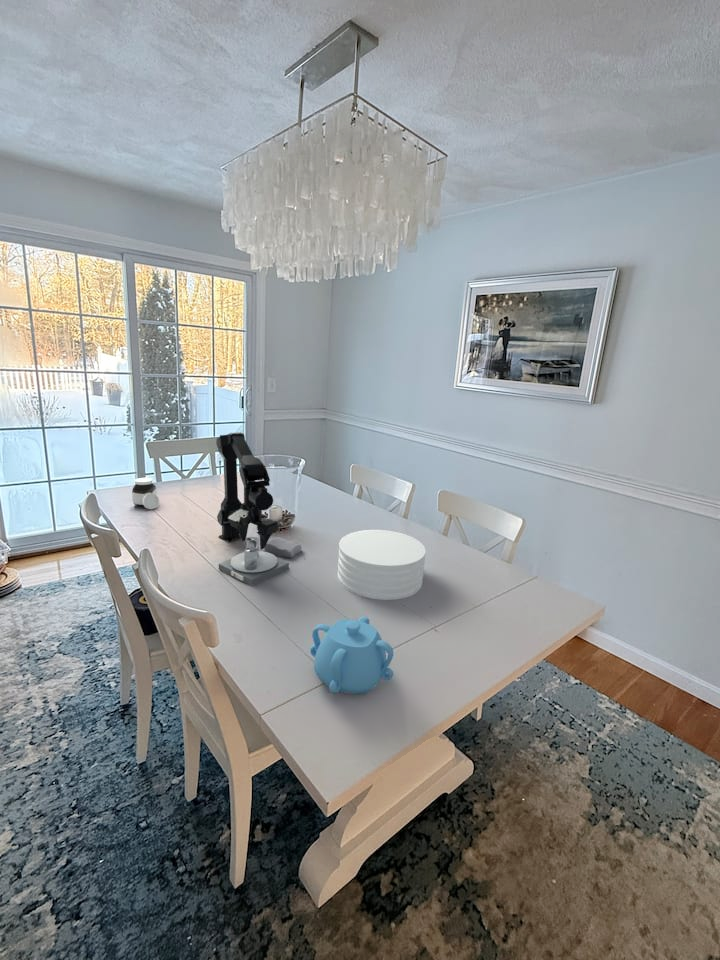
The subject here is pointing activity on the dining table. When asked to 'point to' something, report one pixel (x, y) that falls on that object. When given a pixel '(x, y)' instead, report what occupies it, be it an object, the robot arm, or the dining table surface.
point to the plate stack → (381, 564)
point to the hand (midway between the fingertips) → (252, 544)
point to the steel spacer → (253, 543)
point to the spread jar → (145, 493)
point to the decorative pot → (351, 656)
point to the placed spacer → (250, 558)
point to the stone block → (282, 547)
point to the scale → (265, 569)
